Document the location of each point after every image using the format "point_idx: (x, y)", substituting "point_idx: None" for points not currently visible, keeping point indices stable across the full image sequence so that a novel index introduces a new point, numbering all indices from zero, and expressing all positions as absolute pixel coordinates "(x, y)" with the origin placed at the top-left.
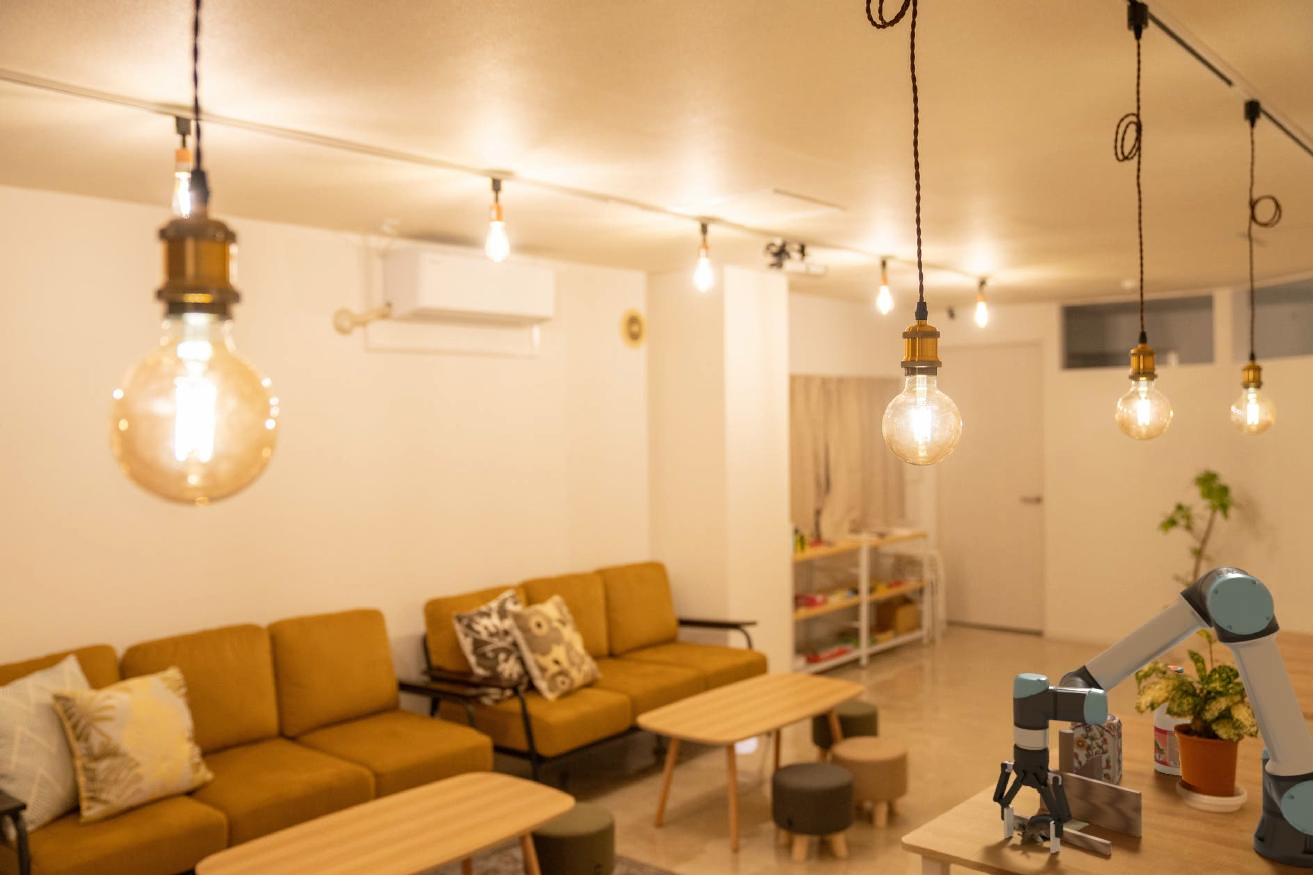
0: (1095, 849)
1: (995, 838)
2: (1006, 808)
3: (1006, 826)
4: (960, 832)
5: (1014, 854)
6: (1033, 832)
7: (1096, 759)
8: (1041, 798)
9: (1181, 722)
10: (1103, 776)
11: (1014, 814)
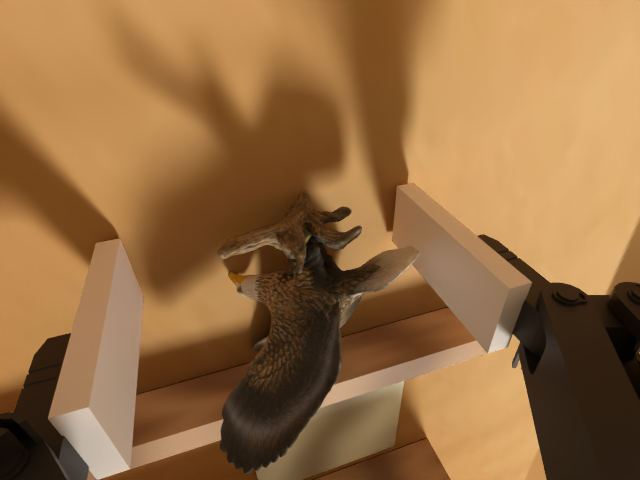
0: None
1: (440, 136)
2: (516, 294)
3: (434, 216)
4: (610, 39)
5: (231, 10)
6: (285, 288)
7: None
8: (439, 471)
9: None
10: None
11: (460, 346)
